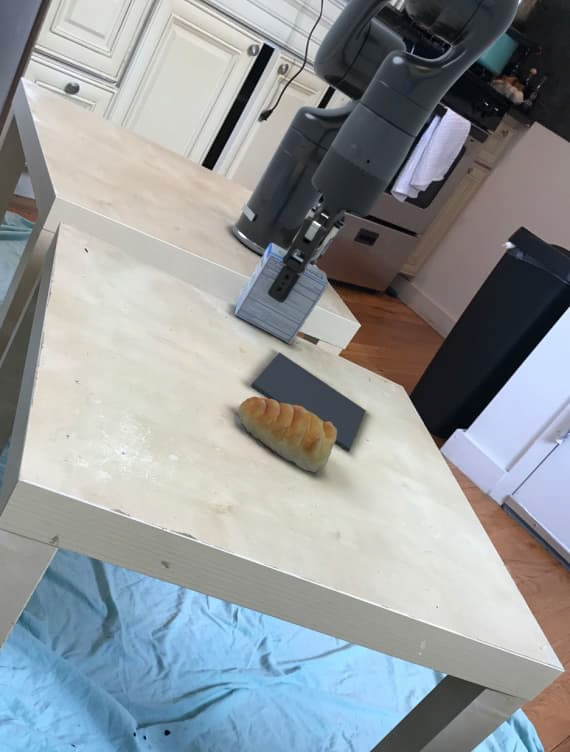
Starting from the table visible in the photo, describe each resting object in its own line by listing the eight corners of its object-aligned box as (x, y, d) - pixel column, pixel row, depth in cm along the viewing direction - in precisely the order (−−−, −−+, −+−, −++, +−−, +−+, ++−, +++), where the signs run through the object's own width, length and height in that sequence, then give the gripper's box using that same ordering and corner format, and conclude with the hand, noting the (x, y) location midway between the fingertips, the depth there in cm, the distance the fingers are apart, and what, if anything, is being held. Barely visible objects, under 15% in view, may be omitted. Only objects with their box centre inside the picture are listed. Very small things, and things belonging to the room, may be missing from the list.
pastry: (231, 433, 66) (252, 400, 64) (235, 400, 72) (255, 368, 70) (321, 480, 68) (344, 449, 66) (318, 444, 74) (340, 414, 72)
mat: (277, 355, 86) (279, 352, 86) (364, 413, 86) (366, 410, 86) (250, 385, 76) (252, 382, 76) (348, 452, 76) (350, 449, 75)
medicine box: (289, 332, 94) (327, 272, 90) (290, 346, 90) (329, 285, 86) (234, 302, 92) (270, 240, 88) (233, 315, 89) (270, 251, 84)
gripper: (384, 183, 74) (294, 324, 83) (398, 175, 86) (318, 299, 95) (321, 142, 74) (238, 287, 83) (344, 140, 87) (269, 266, 95)
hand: (281, 293), depth 89 cm, fingers closed on medicine box, 5 cm apart
